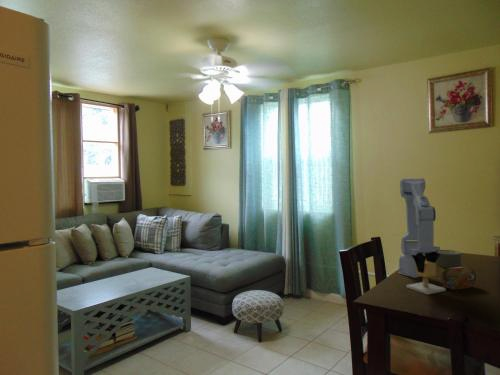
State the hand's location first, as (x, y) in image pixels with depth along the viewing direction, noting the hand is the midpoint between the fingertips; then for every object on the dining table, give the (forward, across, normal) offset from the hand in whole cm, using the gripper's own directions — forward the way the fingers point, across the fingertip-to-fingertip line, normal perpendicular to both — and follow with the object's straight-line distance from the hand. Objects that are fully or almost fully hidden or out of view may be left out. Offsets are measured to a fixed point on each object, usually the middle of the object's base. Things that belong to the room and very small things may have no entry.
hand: (425, 271), depth 145 cm
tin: (+7, +13, -5) cm, 16 cm away
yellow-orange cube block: (+1, 0, 0) cm, 1 cm away
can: (+7, +43, +22) cm, 49 cm away
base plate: (+7, 0, 0) cm, 7 cm away
